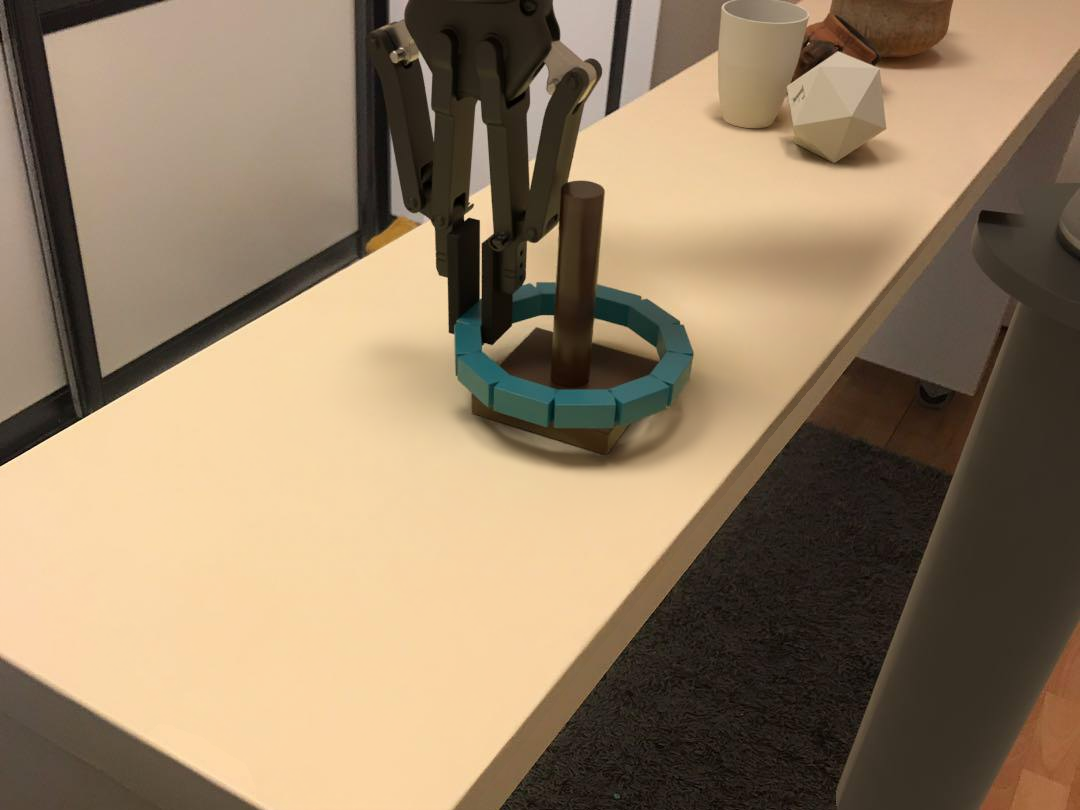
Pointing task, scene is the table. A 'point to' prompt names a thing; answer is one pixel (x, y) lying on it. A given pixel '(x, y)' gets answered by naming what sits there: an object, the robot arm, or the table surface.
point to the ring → (583, 403)
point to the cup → (757, 58)
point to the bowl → (897, 23)
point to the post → (573, 327)
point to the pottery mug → (833, 44)
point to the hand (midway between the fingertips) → (480, 328)
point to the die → (837, 106)
